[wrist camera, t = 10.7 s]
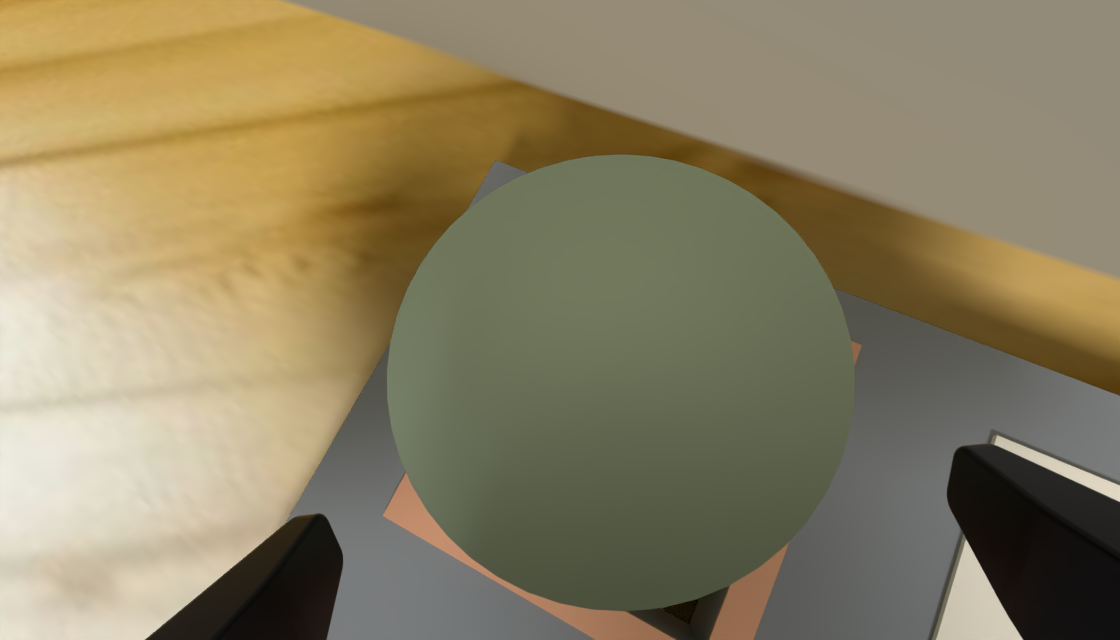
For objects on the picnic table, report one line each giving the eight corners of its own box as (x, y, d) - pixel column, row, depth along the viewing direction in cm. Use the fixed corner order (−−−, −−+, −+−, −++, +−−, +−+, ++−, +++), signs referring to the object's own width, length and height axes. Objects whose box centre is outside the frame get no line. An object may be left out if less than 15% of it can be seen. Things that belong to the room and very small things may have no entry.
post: (634, 578, 15) (637, 740, 5) (504, 452, 17) (299, 377, 6) (748, 438, 16) (956, 329, 6) (615, 329, 18) (589, 85, 7)
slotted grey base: (270, 650, 16) (187, 684, 13) (515, 210, 19) (494, 157, 16) (1286, 1351, 10) (1552, 1696, 7) (1385, 556, 14) (1598, 573, 11)
